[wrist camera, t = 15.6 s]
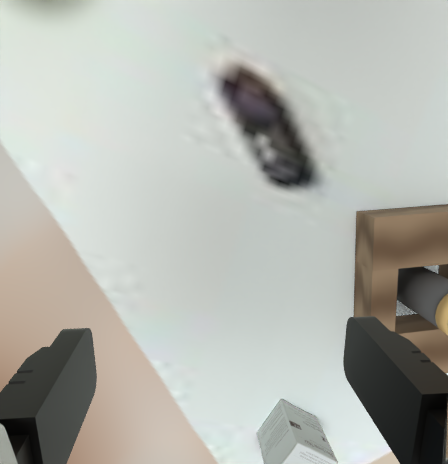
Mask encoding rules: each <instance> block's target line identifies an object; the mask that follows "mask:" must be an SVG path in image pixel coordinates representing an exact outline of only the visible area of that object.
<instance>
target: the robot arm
mask: <svg viewBox="0 0 448 464" xmlns="http://www.w3.org/2000/svg"><path fill="white" fill-rule="evenodd" d="M343 362H344V371H345V375H346V378H347V380H348V382H349V384H350V385H351V387H352V388H353V390H354V392H355V393H356V395H357V396H358V398H359V399H360V401H361V403H362V404H363V406H364V407H365V409H366V410H367V412H368V414H369V415H370V417H371V418H372V420H373V422H374V423H375V425H376V426H377V428H378V429H379V431H380V433H381V434H382V436H383V437H384V439H385V440H386V442H387V444H388V445H389V447H390V448H391V450H392V452H393V453H394V455H395V456H396V458H397V459H398V461H399V462H400V464H448V375H447V374H445V373H444V372H443V371H442V370H441V369H440V368H439V367H438V366H437V365H436V364H435V363H434V362H431V360H430V359H429V358H428V357H427V356H426V355H425V354H424V353H421V350H420V349H419V348H418V347H416V346H415V345H414V344H413V343H412V342H411V341H410V340H409V339H407V338H405V337H403V336H401V335H399V334H398V333H396V332H394V331H390V330H389V329H388V328H387V327H385V326H384V325H383V324H382V323H381V322H380V321H379V320H378V319H377V318H376V317H374V316H367V317H350V318H349V319H348V322H347V328H346V339H345V349H344V361H343ZM96 378H97V376H96V365H95V356H94V347H93V338H92V332H91V330H90V329H89V328H82V329H63V330H62V331H61V332H60V334H59V335H58V336H57V338H56V339H55V340H54V342H53V343H52V345H51V346H50V347H42V348H41V349H40V350H38V351H37V352H35V353H34V354H32V355H31V356H30V357H28V358H27V359H26V360H25V362H24V363H23V364H22V365H21V367H20V368H19V369H18V371H17V373H16V374H14V376H13V377H12V379H10V381H9V384H8V385H6V386H5V387H4V388H3V390H2V391H1V392H0V464H66V463H67V461H68V458H69V456H70V453H71V451H72V448H73V446H74V443H75V441H76V438H77V436H78V433H79V431H80V428H81V426H82V423H83V421H84V418H85V416H86V414H87V411H88V409H89V406H90V404H91V401H92V398H93V396H94V393H95V388H96Z"/></svg>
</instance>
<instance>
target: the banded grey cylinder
mask: <svg viewBox="0 0 448 464" xmlns="http://www.w3.org/2000/svg"><path fill="white" fill-rule="evenodd" d="M397 300H398V301H400V302H401V303H403V304H404V305H406V306H407V307H409V308H410V309H412V310H413V311H414V312H416V313H417V314H419V315H420V316H422V317H423V318H425V319H426V320H428V321H429V322H431V323H432V324H433V325H435V326H436V327H438V328H439V329H440V330H441V331H442V332H443V333H445V334H446V335H448V279H447V278H445V277H443V276H441V275H439V274H437V273H435V272H432V271H430V270H428V269H426V268H424V267H411V268H401V269H398V285H397Z"/></svg>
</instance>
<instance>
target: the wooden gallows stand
mask: <svg viewBox="0 0 448 464" xmlns="http://www.w3.org/2000/svg"><path fill="white" fill-rule="evenodd" d="M432 265H439V275H441V276H443V277H445V278H447V279H448V204H446V205H433V206H420V207H408V208H395V209H382V210H370V211H357V216H356V254H355V291H354V317H367V316H374V317H376V318H377V319H378V320H379V321H380V322H381V323H382V324H383V325H384V326H385V327H387V328H388V329H389V330H390V331H394V332H396V333H398V334H399V335H401V336H403V337H405V338H407V339H409V340H410V341H411V342H412V343H413V344H414V345H415V346H416V347H418V348H419V349H420V350H421V353H424V354H425V355H426V356H427V357H428V358H429V359H430V360H431V362H434V363H435V364H436V365H437V366H438V367H439V368H440V369H441V370H442V371H443V372H444V373H448V335H446V334H445V333H443V332H442V331H441V330H440V329H439V328H438V327H436V326H435V325H433V324H432V323H431V322H429V321H428V320H426V319H425V318H423V317H422V316H420V315H419V314H414V315H404V316H396V303H397V285H398V269H401V268H411V267H422V266H432Z"/></svg>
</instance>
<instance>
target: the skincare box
mask: <svg viewBox="0 0 448 464" xmlns="http://www.w3.org/2000/svg"><path fill="white" fill-rule="evenodd" d="M257 436H258V440H259V444H260V448H261V453H262V457H263V461H264V464H338V461H337V459H336V457H335V455H334V453H333V451H332V449H331V447H330V445H329V442H328V440H327V438H326V436H325V434H324V432H323V430H322V428H321V425H320V423H319V421H318V419H317V418H316V417H315V416H313V415H311V414H309V413H307V412H305V411H303V410H301V409H299V408H297V407H295V406H293V405H292V404H290V403H288V402H287V401H285V400H283V399H281V400H280V401H279V403H278V404H277V405H276V407H275V408H274V409H273V411H272V412H271V414H270V415H269V416H268V418H267V419H266V421H265V422H264V423H263V425H262V426H261V428H260V429H259V430H258V432H257Z"/></svg>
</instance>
